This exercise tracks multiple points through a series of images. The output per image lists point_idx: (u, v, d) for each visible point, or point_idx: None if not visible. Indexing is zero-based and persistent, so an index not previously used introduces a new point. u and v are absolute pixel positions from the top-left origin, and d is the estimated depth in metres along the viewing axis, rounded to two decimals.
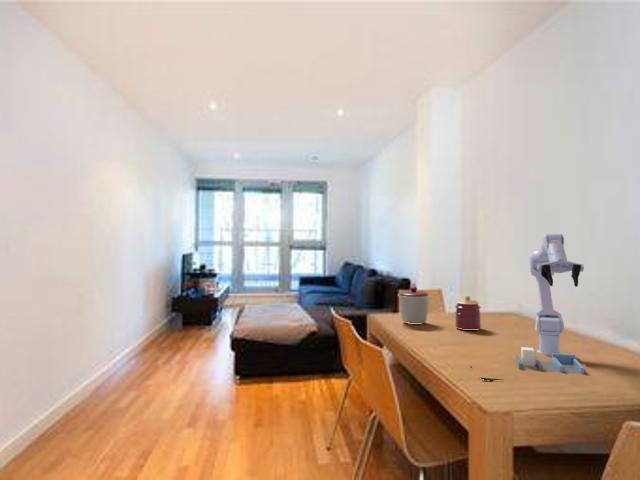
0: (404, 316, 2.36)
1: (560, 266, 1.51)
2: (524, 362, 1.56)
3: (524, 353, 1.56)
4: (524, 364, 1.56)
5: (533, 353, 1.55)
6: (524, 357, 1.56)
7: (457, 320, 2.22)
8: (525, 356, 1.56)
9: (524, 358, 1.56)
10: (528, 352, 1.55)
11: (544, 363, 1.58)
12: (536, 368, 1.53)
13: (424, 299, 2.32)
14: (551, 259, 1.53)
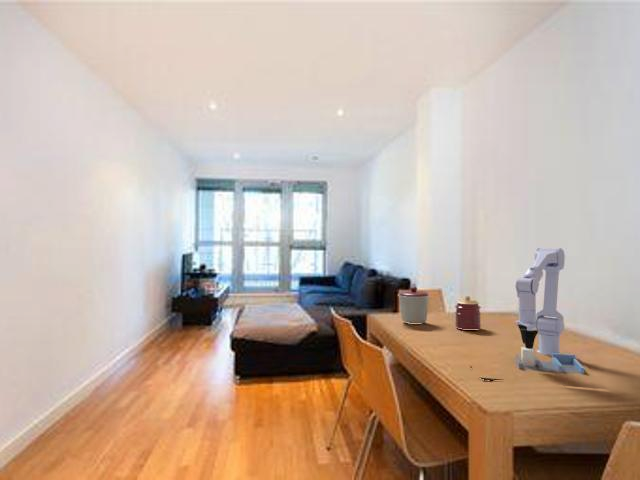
0: (404, 316, 2.36)
1: None
2: (524, 362, 1.56)
3: (524, 353, 1.56)
4: (524, 364, 1.56)
5: (533, 353, 1.55)
6: (524, 357, 1.56)
7: (457, 320, 2.22)
8: (525, 356, 1.56)
9: (524, 358, 1.56)
10: (528, 352, 1.55)
11: (544, 363, 1.58)
12: (536, 368, 1.53)
13: (424, 299, 2.32)
14: None
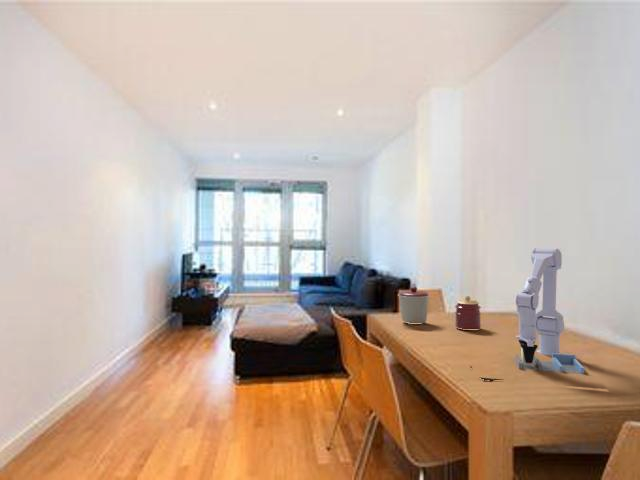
0: (404, 316, 2.36)
1: None
2: (524, 362, 1.56)
3: None
4: (524, 364, 1.56)
5: None
6: (524, 357, 1.56)
7: (457, 320, 2.22)
8: None
9: (524, 358, 1.56)
10: None
11: (544, 363, 1.58)
12: (536, 368, 1.53)
13: (424, 299, 2.32)
14: None
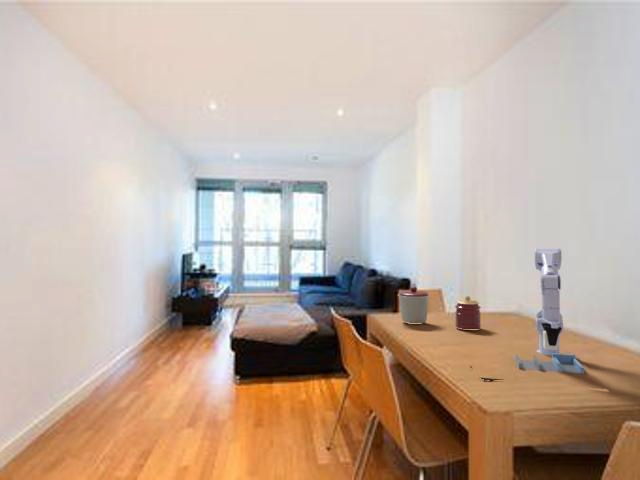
0: (404, 316, 2.36)
1: None
2: (546, 345, 1.53)
3: (546, 336, 1.53)
4: (546, 347, 1.53)
5: None
6: (546, 340, 1.53)
7: (457, 320, 2.22)
8: (547, 339, 1.53)
9: (546, 341, 1.53)
10: None
11: (544, 363, 1.58)
12: (536, 368, 1.53)
13: (424, 299, 2.32)
14: None
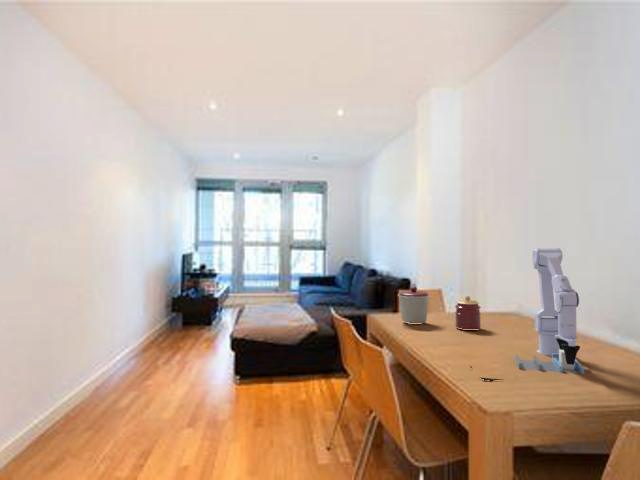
0: (404, 316, 2.36)
1: None
2: (563, 365, 1.52)
3: (563, 356, 1.52)
4: (563, 367, 1.52)
5: None
6: (563, 360, 1.52)
7: (457, 320, 2.22)
8: (564, 359, 1.51)
9: (563, 361, 1.52)
10: None
11: (544, 363, 1.58)
12: (536, 368, 1.53)
13: (424, 299, 2.32)
14: None
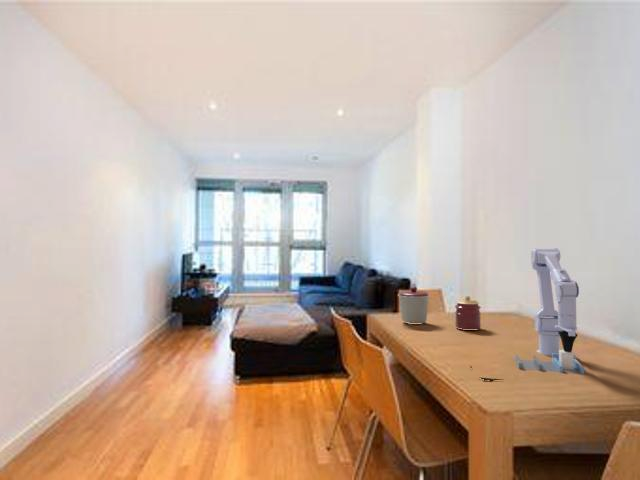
0: (404, 316, 2.36)
1: None
2: (563, 365, 1.52)
3: (563, 356, 1.52)
4: (563, 367, 1.52)
5: (572, 356, 1.51)
6: (563, 360, 1.52)
7: (457, 320, 2.22)
8: (564, 359, 1.51)
9: (563, 361, 1.52)
10: (567, 355, 1.51)
11: (544, 363, 1.58)
12: (536, 368, 1.53)
13: (424, 299, 2.32)
14: None
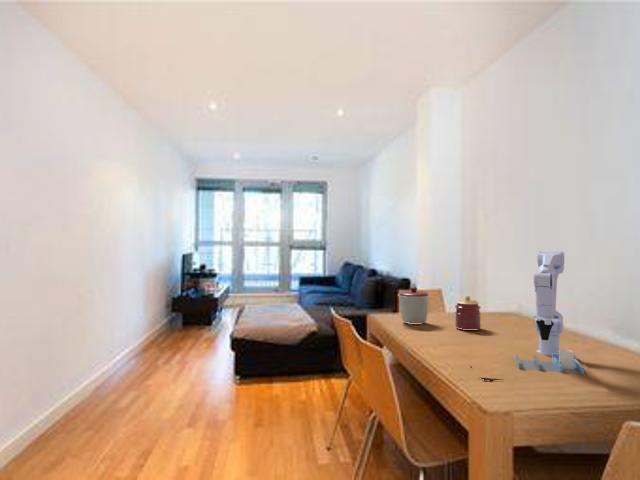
0: (404, 316, 2.36)
1: None
2: (563, 365, 1.52)
3: (563, 356, 1.52)
4: (563, 367, 1.52)
5: (572, 356, 1.51)
6: (563, 360, 1.52)
7: (457, 320, 2.22)
8: (564, 359, 1.51)
9: (563, 361, 1.52)
10: (567, 355, 1.51)
11: (544, 363, 1.58)
12: (536, 368, 1.53)
13: (424, 299, 2.32)
14: None
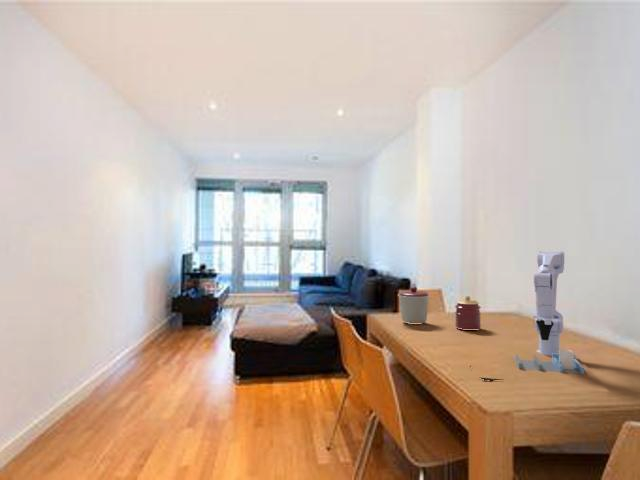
0: (404, 316, 2.36)
1: None
2: (563, 365, 1.52)
3: (563, 356, 1.52)
4: (563, 367, 1.52)
5: (572, 356, 1.51)
6: (563, 360, 1.52)
7: (457, 320, 2.22)
8: (564, 359, 1.51)
9: (563, 361, 1.52)
10: (567, 355, 1.51)
11: (544, 363, 1.58)
12: (536, 368, 1.53)
13: (424, 299, 2.32)
14: None
